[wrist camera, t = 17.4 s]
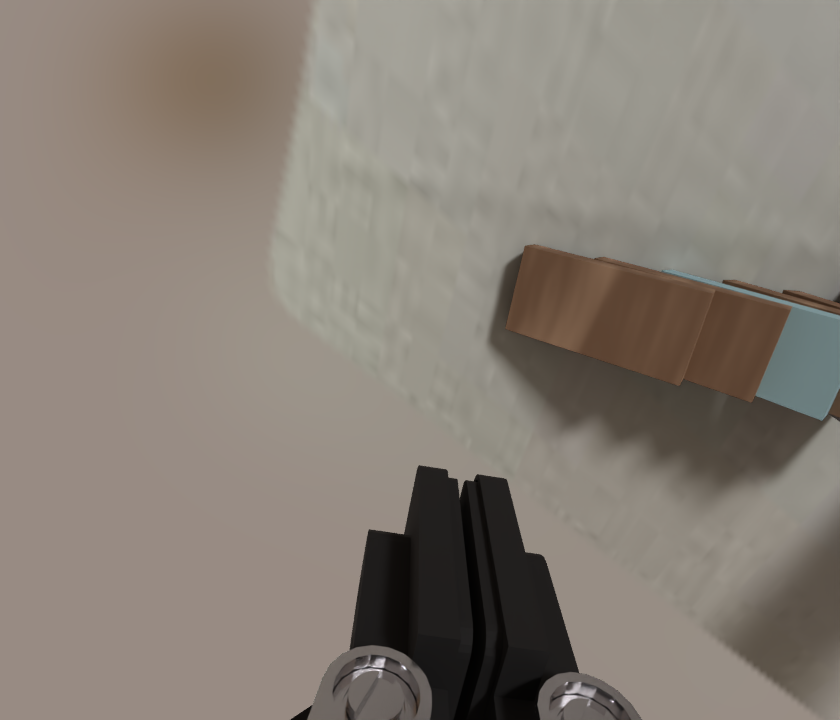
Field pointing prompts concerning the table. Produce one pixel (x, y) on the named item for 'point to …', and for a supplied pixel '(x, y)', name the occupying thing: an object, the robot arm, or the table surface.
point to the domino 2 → (731, 338)
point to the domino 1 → (609, 312)
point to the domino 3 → (799, 357)
